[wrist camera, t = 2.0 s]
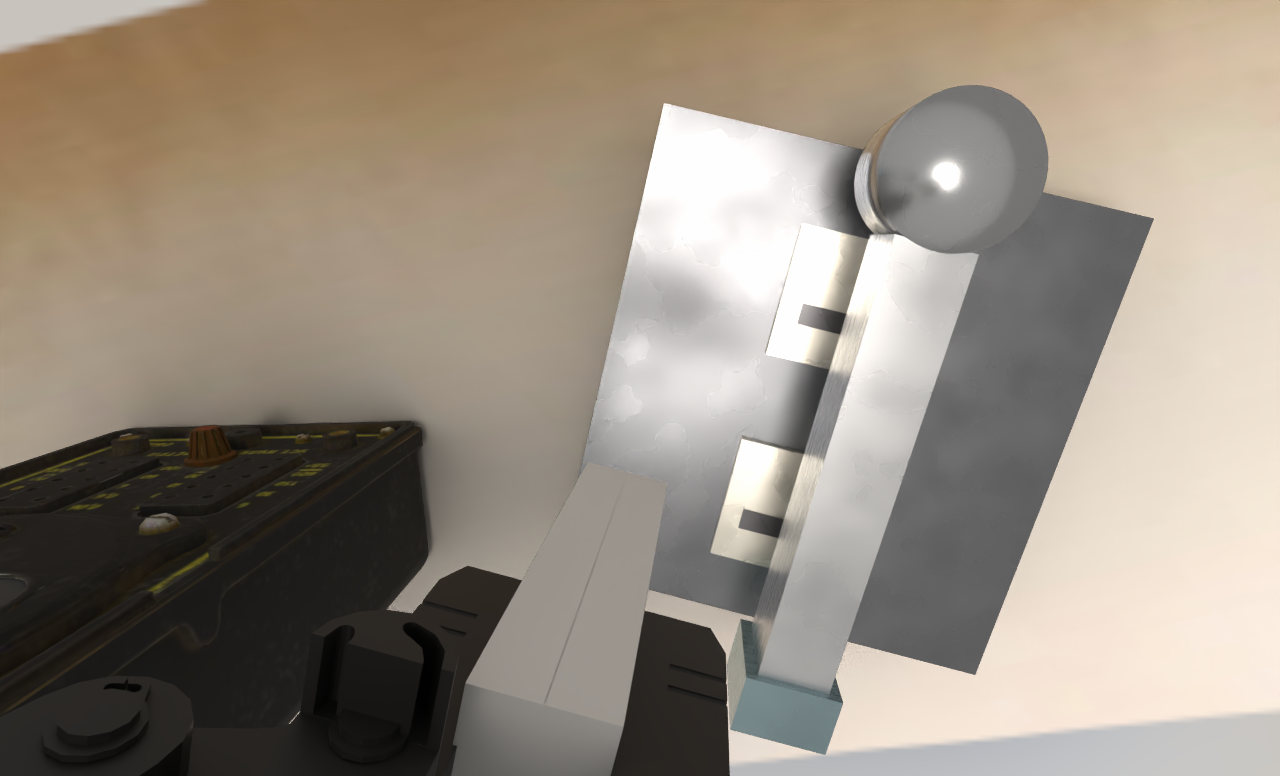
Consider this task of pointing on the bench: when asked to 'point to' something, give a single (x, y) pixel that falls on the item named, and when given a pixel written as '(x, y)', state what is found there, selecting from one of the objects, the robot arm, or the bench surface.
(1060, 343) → the grey slotted box
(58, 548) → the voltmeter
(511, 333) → the bench surface
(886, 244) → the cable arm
